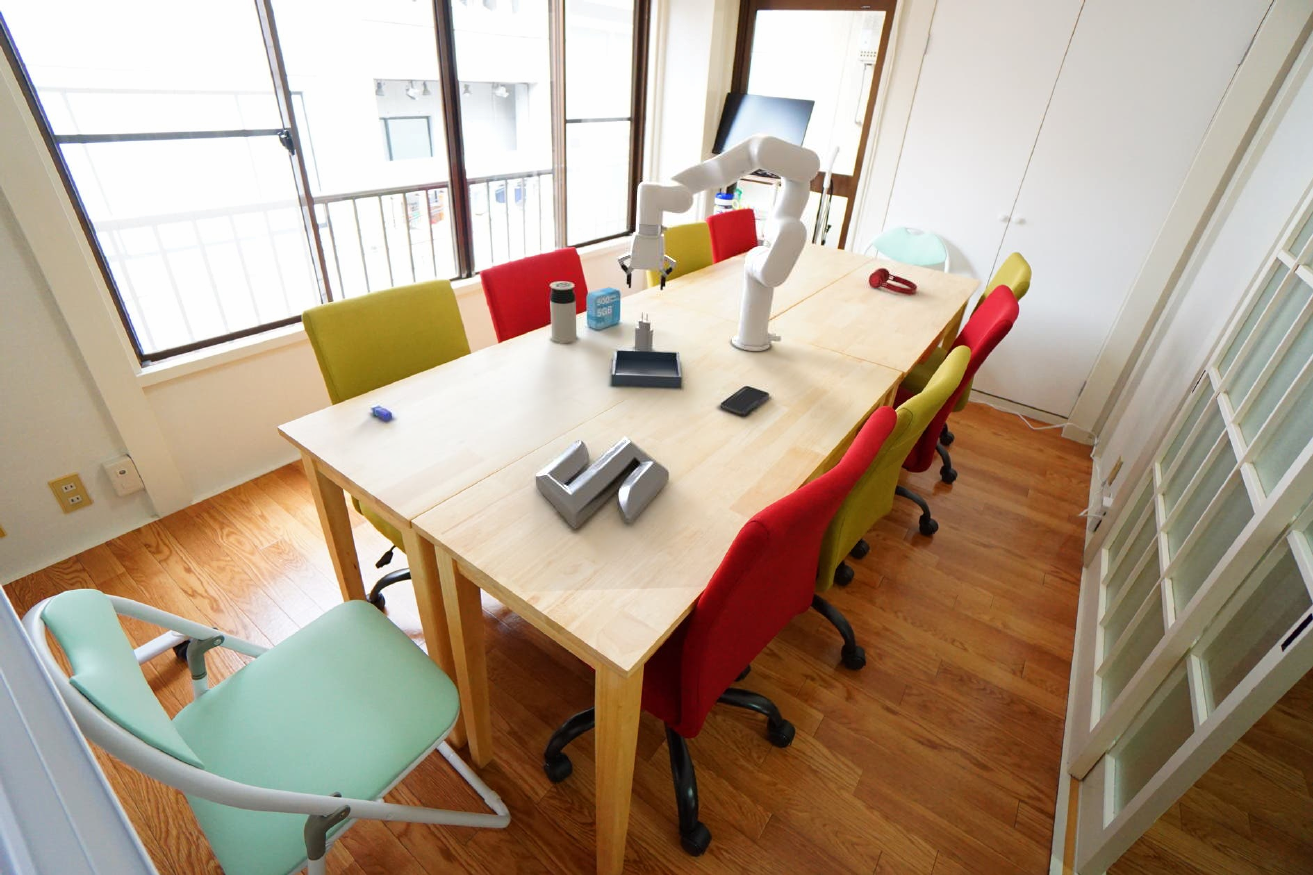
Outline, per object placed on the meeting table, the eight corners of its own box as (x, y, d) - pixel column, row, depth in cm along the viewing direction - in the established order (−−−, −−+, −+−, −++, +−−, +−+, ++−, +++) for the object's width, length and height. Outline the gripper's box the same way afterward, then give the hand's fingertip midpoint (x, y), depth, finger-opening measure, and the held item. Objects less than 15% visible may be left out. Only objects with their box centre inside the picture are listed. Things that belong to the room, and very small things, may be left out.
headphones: (864, 286, 255) (908, 302, 248) (870, 271, 251) (915, 286, 244) (872, 279, 266) (915, 294, 259) (878, 264, 262) (922, 279, 255)
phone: (719, 404, 153) (745, 385, 164) (718, 408, 154) (745, 388, 164) (745, 413, 150) (771, 393, 160) (744, 417, 150) (770, 397, 161)
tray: (678, 362, 178) (678, 351, 176) (680, 388, 163) (681, 377, 161) (614, 360, 177) (614, 349, 175) (611, 386, 162) (611, 374, 160)
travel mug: (581, 337, 191) (579, 283, 182) (568, 345, 185) (566, 290, 176) (560, 332, 194) (558, 279, 184) (547, 340, 188) (544, 285, 178)
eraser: (379, 410, 144) (377, 403, 143) (393, 418, 141) (391, 411, 140) (371, 413, 143) (370, 406, 142) (385, 421, 140) (383, 414, 139)
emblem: (677, 507, 109) (527, 509, 106) (675, 529, 112) (529, 531, 109) (663, 430, 132) (540, 430, 130) (662, 450, 135) (542, 450, 133)
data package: (595, 331, 197) (595, 296, 190) (586, 327, 199) (585, 293, 193) (620, 322, 204) (620, 289, 198) (611, 319, 207) (611, 286, 201)
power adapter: (639, 345, 188) (640, 310, 181) (653, 350, 185) (654, 314, 179) (633, 348, 185) (634, 312, 179) (647, 353, 183) (648, 316, 177)
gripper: (678, 228, 170) (673, 286, 178) (619, 224, 169) (617, 282, 178) (679, 234, 163) (674, 293, 172) (618, 230, 162) (616, 290, 171)
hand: (645, 288), depth 175 cm, fingers open, 9 cm apart
